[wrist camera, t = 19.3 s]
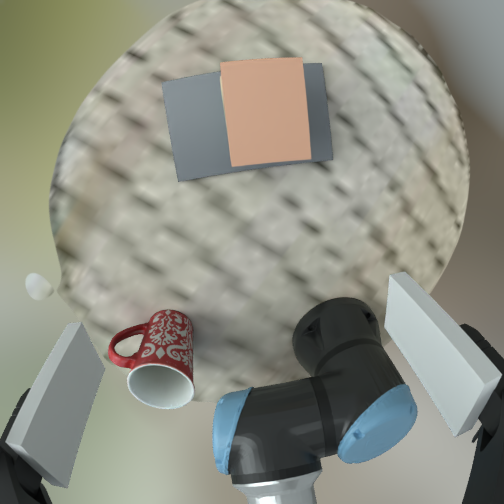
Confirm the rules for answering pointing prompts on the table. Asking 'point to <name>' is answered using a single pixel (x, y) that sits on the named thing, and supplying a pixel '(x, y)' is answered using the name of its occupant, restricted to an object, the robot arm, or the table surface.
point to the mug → (160, 360)
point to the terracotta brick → (266, 110)
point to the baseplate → (210, 125)
